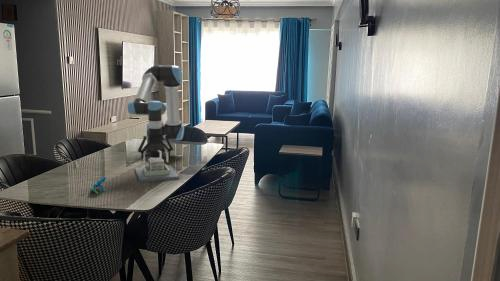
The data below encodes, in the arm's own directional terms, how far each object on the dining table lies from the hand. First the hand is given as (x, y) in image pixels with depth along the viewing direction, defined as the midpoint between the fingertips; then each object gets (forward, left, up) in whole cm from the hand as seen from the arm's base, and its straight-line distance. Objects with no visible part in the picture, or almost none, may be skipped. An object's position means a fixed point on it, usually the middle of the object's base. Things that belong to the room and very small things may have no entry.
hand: (155, 162), depth 227 cm
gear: (+22, -33, -7) cm, 40 cm away
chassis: (0, 0, -7) cm, 7 cm away
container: (0, 0, -6) cm, 6 cm away
